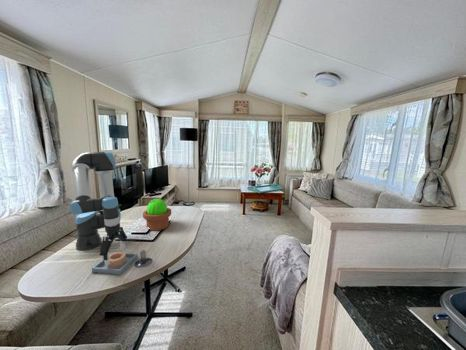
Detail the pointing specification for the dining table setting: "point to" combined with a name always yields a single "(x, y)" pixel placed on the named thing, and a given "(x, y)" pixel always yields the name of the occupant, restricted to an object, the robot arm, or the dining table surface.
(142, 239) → the dining table surface
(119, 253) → the tan round bowl
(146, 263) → the dark grey rounded piece
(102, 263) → the tray
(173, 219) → the dining table surface
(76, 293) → the dining table surface
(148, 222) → the potted cactus
